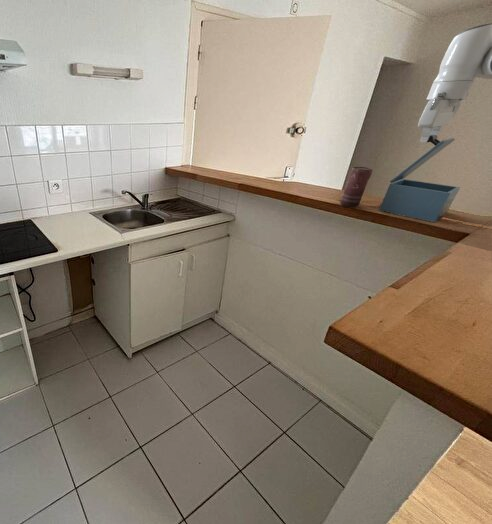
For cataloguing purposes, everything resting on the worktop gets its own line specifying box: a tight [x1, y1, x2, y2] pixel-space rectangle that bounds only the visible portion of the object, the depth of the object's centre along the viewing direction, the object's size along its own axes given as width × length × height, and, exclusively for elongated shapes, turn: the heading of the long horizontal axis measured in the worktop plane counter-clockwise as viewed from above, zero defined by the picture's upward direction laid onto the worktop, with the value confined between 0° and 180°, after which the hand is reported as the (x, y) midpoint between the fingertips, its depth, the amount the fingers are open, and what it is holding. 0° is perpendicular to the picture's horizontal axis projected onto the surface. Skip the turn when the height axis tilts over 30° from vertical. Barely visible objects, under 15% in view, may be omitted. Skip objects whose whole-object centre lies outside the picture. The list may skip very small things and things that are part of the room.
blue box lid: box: [389, 134, 456, 184], centre depth 96 cm, size 16×13×5 cm
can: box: [339, 166, 373, 208], centre depth 106 cm, size 6×6×14 cm
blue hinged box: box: [378, 178, 461, 223], centre depth 99 cm, size 16×13×10 cm
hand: (426, 141), depth 93 cm, fingers closed on blue box lid, 5 cm apart
